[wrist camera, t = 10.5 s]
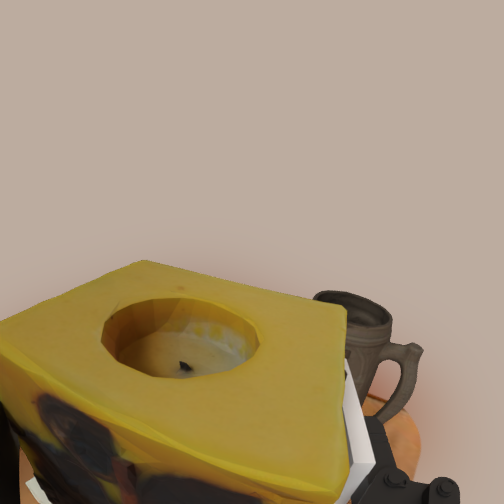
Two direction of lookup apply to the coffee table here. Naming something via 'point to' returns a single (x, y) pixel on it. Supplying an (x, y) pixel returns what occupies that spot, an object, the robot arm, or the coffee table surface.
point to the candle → (178, 391)
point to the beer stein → (374, 349)
